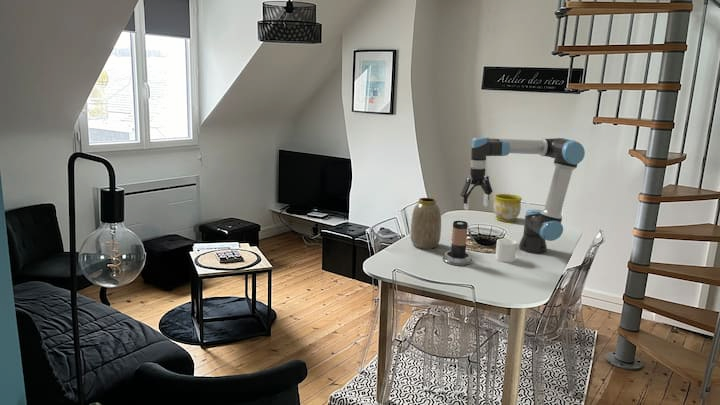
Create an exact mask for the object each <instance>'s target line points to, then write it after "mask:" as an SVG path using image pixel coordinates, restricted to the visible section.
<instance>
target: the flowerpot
mask: <svg viewBox="0 0 720 405" xmlns="http://www.w3.org/2000/svg"><path fill="white" fill-rule="evenodd" d="M521 201H522V196H519V195H515V194H510V193H498V194H495V195H494V204H493V213H494V215H495V218H496V220H497V221H499V222H504V223H513V222H515V221H516V220H517V217H519V215H520V214H521V209H522V208H521V206H522V205H521Z"/></svg>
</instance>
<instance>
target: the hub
mask: <svg viewBox="0 0 720 405" xmlns="http://www.w3.org/2000/svg"><path fill="white" fill-rule="evenodd" d="M442 261H443V262H444V263H445V264H447V265H451V266H457V267H465V266H470V265H472V263H473V260H472V255H471V254H470V253H469V252H467V251H466V252H465V258H454V257H451V250H448V251H445V253H444V255H443V256H442Z"/></svg>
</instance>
